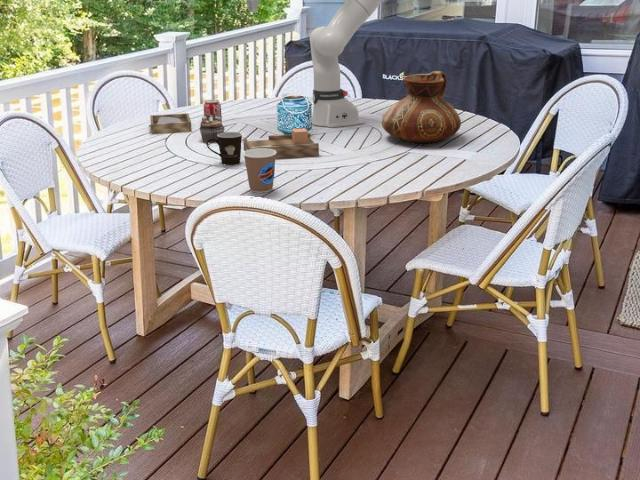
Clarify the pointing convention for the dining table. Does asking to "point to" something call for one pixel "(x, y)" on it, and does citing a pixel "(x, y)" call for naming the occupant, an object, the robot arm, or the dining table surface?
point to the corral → (171, 124)
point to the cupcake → (211, 127)
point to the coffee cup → (260, 169)
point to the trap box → (285, 146)
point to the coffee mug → (228, 147)
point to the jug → (422, 112)
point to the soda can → (212, 108)
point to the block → (299, 135)
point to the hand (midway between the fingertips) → (252, 11)
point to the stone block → (168, 120)
